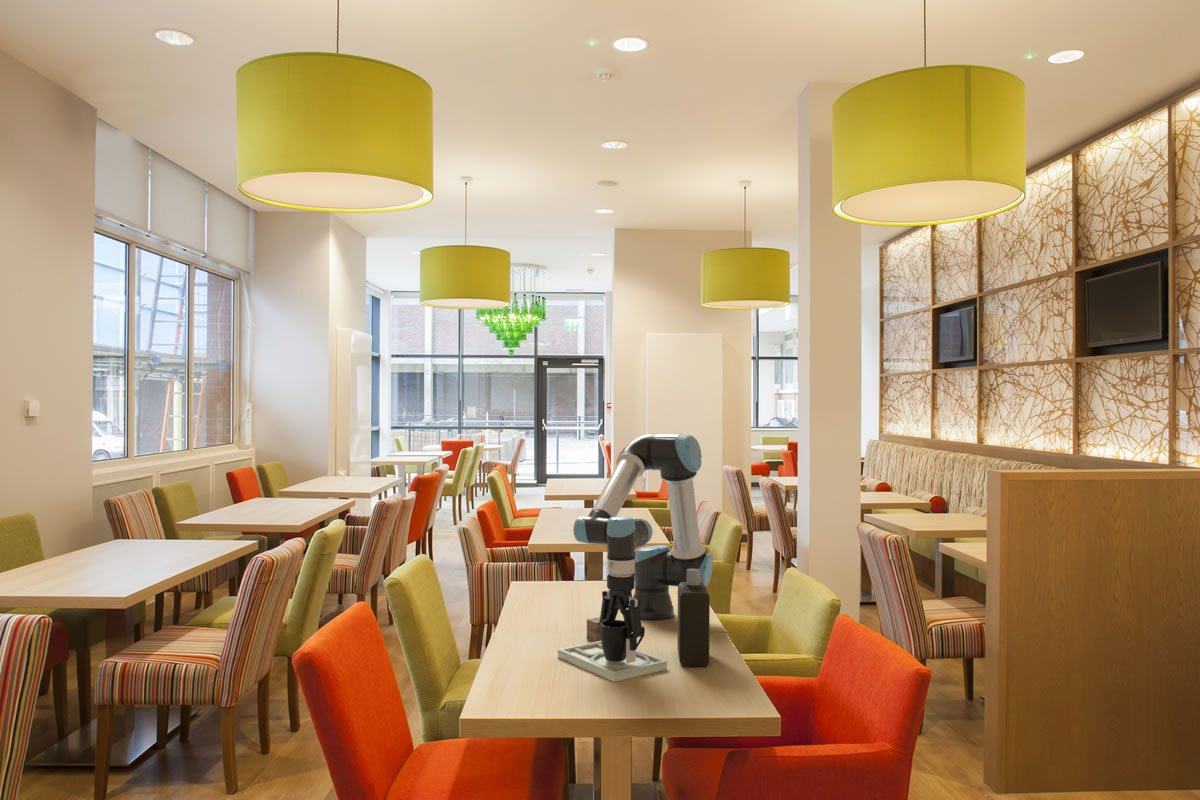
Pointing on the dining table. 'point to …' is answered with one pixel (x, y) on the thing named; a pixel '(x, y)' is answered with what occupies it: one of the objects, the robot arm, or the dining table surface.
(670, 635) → the dining table surface
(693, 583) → the bottle
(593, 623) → the block
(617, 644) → the mug
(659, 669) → the tray
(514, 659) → the dining table surface
